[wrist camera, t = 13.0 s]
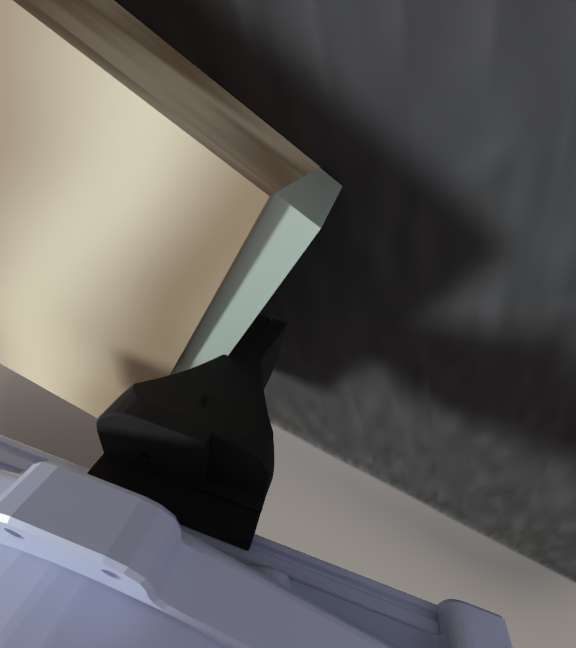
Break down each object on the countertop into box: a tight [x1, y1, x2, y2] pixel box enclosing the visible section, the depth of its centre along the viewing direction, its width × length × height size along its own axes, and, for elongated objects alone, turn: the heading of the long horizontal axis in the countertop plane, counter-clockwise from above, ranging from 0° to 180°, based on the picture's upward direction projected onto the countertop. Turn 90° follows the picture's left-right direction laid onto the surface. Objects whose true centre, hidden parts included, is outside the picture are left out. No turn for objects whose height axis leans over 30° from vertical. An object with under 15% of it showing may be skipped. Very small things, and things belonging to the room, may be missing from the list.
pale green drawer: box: [173, 168, 343, 374], centre depth 11 cm, size 14×12×7 cm
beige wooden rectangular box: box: [0, 0, 320, 418], centre depth 11 cm, size 14×12×7 cm
